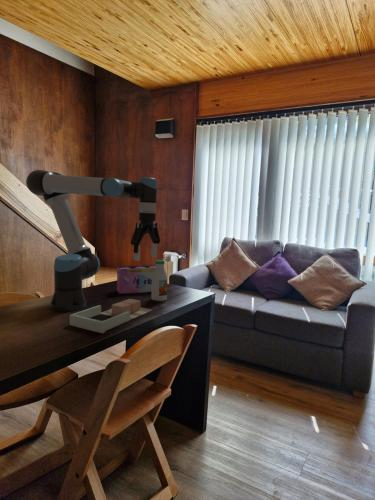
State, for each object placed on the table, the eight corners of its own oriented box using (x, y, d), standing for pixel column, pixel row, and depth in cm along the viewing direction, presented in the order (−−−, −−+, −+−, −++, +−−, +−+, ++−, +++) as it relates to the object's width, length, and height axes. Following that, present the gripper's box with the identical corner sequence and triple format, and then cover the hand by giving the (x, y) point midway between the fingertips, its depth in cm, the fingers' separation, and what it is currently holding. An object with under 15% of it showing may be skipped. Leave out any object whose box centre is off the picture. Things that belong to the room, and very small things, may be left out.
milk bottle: (152, 301, 170) (153, 261, 167) (150, 297, 177) (151, 259, 175) (168, 301, 172) (169, 261, 169) (164, 297, 179) (166, 259, 177)
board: (124, 305, 162) (124, 304, 162) (152, 310, 155) (152, 309, 155) (99, 314, 147) (99, 313, 147) (129, 321, 140) (129, 320, 140)
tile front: (120, 310, 152) (120, 301, 151) (131, 312, 149) (131, 303, 149) (111, 314, 147) (111, 304, 146) (122, 316, 144) (122, 307, 143)
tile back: (129, 307, 158) (129, 298, 157) (140, 309, 155) (140, 300, 154) (121, 310, 152) (121, 301, 152) (132, 312, 150) (132, 303, 149)
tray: (98, 314, 147) (98, 305, 147) (129, 321, 140) (130, 311, 139) (69, 324, 133) (69, 314, 133) (102, 333, 126) (102, 322, 125)
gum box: (158, 288, 199) (158, 265, 197) (162, 291, 192) (163, 267, 190) (116, 290, 190) (116, 266, 188) (119, 294, 183) (119, 268, 181)
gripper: (155, 212, 169) (153, 255, 172) (123, 211, 148) (121, 260, 150) (168, 213, 166) (166, 256, 169) (137, 212, 144) (135, 262, 147)
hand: (145, 258), depth 159 cm, fingers open, 13 cm apart
